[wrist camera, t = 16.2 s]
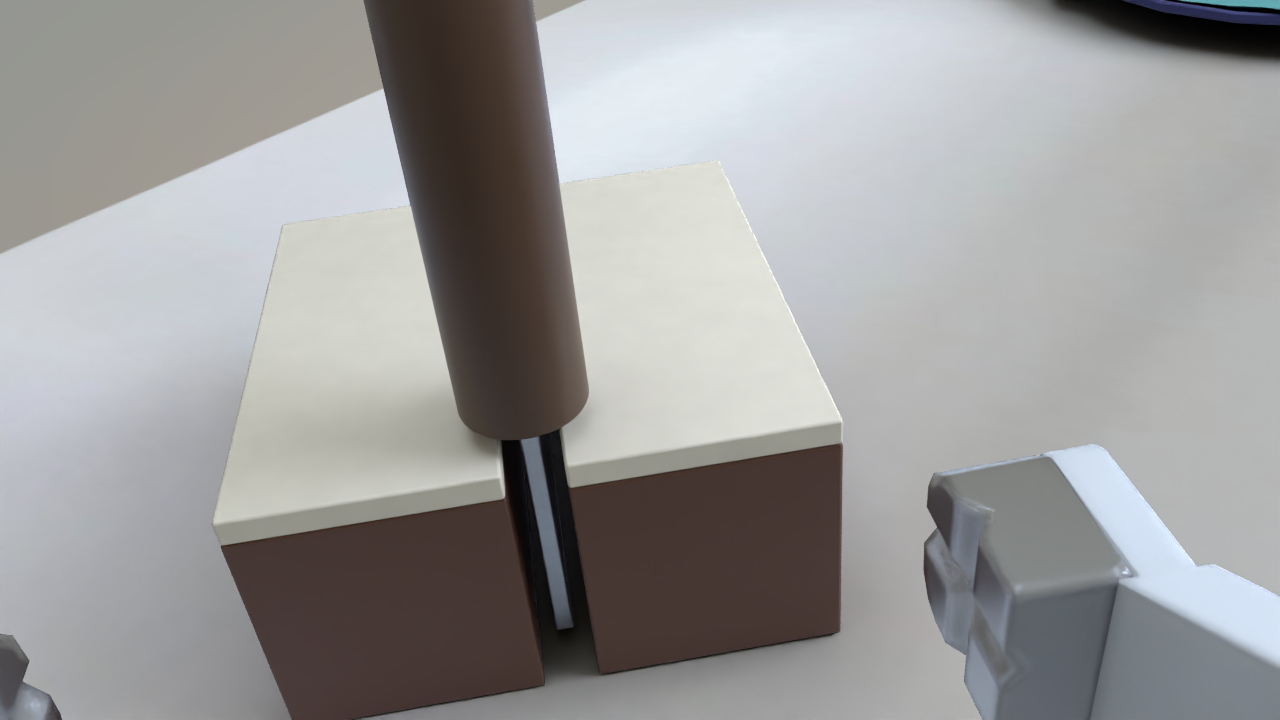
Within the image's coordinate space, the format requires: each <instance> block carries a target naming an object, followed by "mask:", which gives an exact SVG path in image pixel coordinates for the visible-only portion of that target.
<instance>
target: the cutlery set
mask: <svg viewBox="0 0 1280 720" xmlns="http://www.w3.org/2000/svg"><path fill="white" fill-rule="evenodd" d="M1123 1H1126V2H1130V3H1133V4H1137V5H1140V6H1144V7H1147V8H1151V9H1154V10H1157V11H1161V12H1166V13H1172V14H1179V15H1185V16H1192V17H1199V18H1205V19H1212V20H1218V21H1225V22H1231V23H1244V24H1263V25H1280V0H1123Z"/></svg>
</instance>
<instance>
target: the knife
mask: <svg viewBox="0 0 1280 720" xmlns="http://www.w3.org/2000/svg"><path fill="white" fill-rule="evenodd" d="M364 4H365V9H366V13H367V18H368V22H369V27H370V31H371V35H372V40H373V43H374V48H375V53H376V57H377V61H378V66H379V70H380V75H381V79H382V83H383V88H384V92H385V96H386V101H387V105H388V109H389V114H390V118H391V123H392V127H393V131H394V136H395V140H396V144H397V149H398V153H399V157H400V162H401V166H402V170H403V175H404V179H405V184H406V188H407V192H408V197H409V201H410V205H411V210H412V214H413V218H414V223H415V227H416V232H417V236H418V240H419V245H420V249H421V253H422V258H423V262H424V266H425V271H426V275H427V280H428V284H429V288H430V293H431V297H432V301H433V306H434V310H435V314H436V319H437V323H438V328H439V332H440V336H441V341H442V345H443V349H444V354H445V358H446V362H447V367H448V371H449V375H450V380H451V384H452V389H453V393H454V397H455V402H456V406H457V410H458V414H459V417H460V419H461V420H462V422H463V423H464V424H465V425H466V426H467V427H468V428H469V429H471V430H472V431H473V432H475V433H477V434H479V435H482V436H485V437H488V438H492V439H499V440H520V444H521V449H522V454H523V459H524V464H525V470H526V475H527V480H528V485H529V490H530V495H531V501H532V506H533V511H534V516H535V521H536V526H537V532H538V537H539V542H540V547H541V552H542V557H543V563H544V568H545V573H546V578H547V583H548V588H549V593H550V599H551V604H552V609H553V614H554V619H555V624H556V628H557V630H560V629H566V628H572V627H573V626H574V622H573V614H572V606H571V599H570V591H569V583H568V576H567V568H566V560H565V553H564V545H563V537H562V530H561V522H560V514H559V506H558V499H557V491H556V483H555V476H554V468H553V460H552V453H551V445H550V437H549V433H551V432H553V431H555V430H557V429H559V428H561V427H563V426H565V425H566V424H568V423H569V422H571V421H572V420H573V419H574V418H575V417H576V416H577V415H579V413H580V412H581V411H582V410H583V408H584V406H585V405H586V402H587V399H588V396H589V385H588V378H587V371H586V365H585V358H584V351H583V344H582V337H581V330H580V323H579V316H578V309H577V302H576V295H575V288H574V282H573V275H572V268H571V261H570V254H569V247H568V240H567V233H566V226H565V219H564V212H563V206H562V199H561V192H560V185H559V178H558V171H557V164H556V157H555V150H554V143H553V136H552V129H551V123H550V116H549V109H548V102H547V95H546V88H545V81H544V74H543V67H542V60H541V53H540V46H539V40H538V33H537V26H536V19H535V12H534V5H533V0H364Z"/></svg>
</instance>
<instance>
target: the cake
mask: <svg viewBox="0 0 1280 720" xmlns="http://www.w3.org/2000/svg"><path fill="white" fill-rule="evenodd" d="M559 185H560V192H561V199H562V206H563V212H564V219H565V226H566V233H567V240H568V247H569V254H570V261H571V268H572V275H573V282H574V288H575V295H576V302H577V309H578V316H579V323H580V330H581V337H582V344H583V351H584V358H585V365H586V371H587V378H588V385H589V396H588V399H587V402H586V405H585V406H584V408H583V410H582V411H581V412H580V413H579V415H577V416H576V417H575V418H574V419H573V420H572V421H571V422H569V423H568V424H566V425H565V426H563V427H561V428H559V430H560V437H561V444H562V451H563V458H564V465H565V471H566V477H567V483H568V489H569V495H570V501H571V507H572V513H573V519H574V525H575V531H576V537H577V543H578V549H579V555H580V561H581V567H582V573H583V579H584V585H585V591H586V596H587V602H588V608H589V614H590V620H591V626H592V632H593V638H594V644H595V650H596V656H597V662H598V668H599V671H600V673H601V674H605V673H611V672H616V671H622V670H628V669H633V668H639V667H645V666H650V665H656V664H662V663H667V662H673V661H679V660H684V659H690V658H696V657H701V656H707V655H713V654H718V653H724V652H730V651H735V650H741V649H747V648H752V647H758V646H764V645H769V644H775V643H781V642H786V641H792V640H798V639H803V638H809V637H815V636H820V635H826V634H832V633H837V632H839V631H840V610H841V534H842V458H843V445H842V441H843V420H842V418H841V416H840V413H839V411H838V409H837V407H836V405H835V403H834V401H833V399H832V397H831V395H830V393H829V390H828V388H827V386H826V384H825V382H824V380H823V378H822V376H821V374H820V372H819V370H818V367H817V365H816V363H815V361H814V359H813V357H812V355H811V353H810V351H809V349H808V347H807V344H806V342H805V340H804V338H803V336H802V334H801V332H800V330H799V328H798V326H797V323H796V321H795V319H794V317H793V315H792V313H791V311H790V309H789V307H788V305H787V303H786V300H785V298H784V296H783V294H782V292H781V290H780V288H779V286H778V284H777V282H776V280H775V277H774V275H773V273H772V271H771V269H770V267H769V265H768V263H767V261H766V259H765V257H764V254H763V252H762V250H761V248H760V246H759V244H758V242H757V240H756V238H755V236H754V234H753V231H752V229H751V227H750V225H749V223H748V221H747V219H746V217H745V215H744V213H743V211H742V208H741V206H740V204H739V202H738V200H737V198H736V196H735V194H734V192H733V190H732V188H731V185H730V183H729V181H728V179H727V177H726V175H725V173H724V171H723V169H722V167H721V164H720V162H719V161H717V160H716V161H709V162H702V163H696V164H689V165H682V166H675V167H668V168H662V169H655V170H648V171H641V172H635V173H628V174H621V175H614V176H607V177H601V178H594V179H587V180H580V181H574V182H567V183H560V184H559ZM212 526H213V529H214V531H215V534H216V536H217V538H218V541H219V543H220V545H221V549H222V552H223V554H224V557H225V559H226V562H227V564H228V566H229V569H230V571H231V574H232V576H233V578H234V581H235V583H236V586H237V588H238V591H239V593H240V595H241V598H242V600H243V603H244V605H245V607H246V610H247V612H248V615H249V617H250V620H251V622H252V624H253V627H254V629H255V632H256V634H257V636H258V639H259V641H260V644H261V646H262V649H263V651H264V653H265V656H266V658H267V661H268V663H269V665H270V668H271V670H272V673H273V675H274V678H275V680H276V682H277V685H278V687H279V690H280V692H281V694H282V697H283V699H284V702H285V704H286V707H287V709H288V711H289V714H290V716H291V719H292V720H348V719H354V718H359V717H365V716H371V715H376V714H382V713H388V712H393V711H399V710H405V709H410V708H416V707H422V706H427V705H433V704H439V703H444V702H450V701H456V700H461V699H467V698H473V697H478V696H484V695H490V694H495V693H501V692H507V691H512V690H518V689H524V688H529V687H535V686H541V685H544V683H545V680H544V670H543V660H542V649H541V639H540V629H539V619H538V608H537V598H536V588H535V577H534V567H533V557H532V546H531V536H530V526H529V515H528V505H527V495H526V484H525V474H524V464H523V454H522V449H521V444H520V440H499V439H492V438H488V437H485V436H482V435H479V434H477V433H475V432H473V431H472V430H471V429H469V428H468V427H467V426H466V425H465V424H464V423H463V422H462V420H461V419H460V417H459V414H458V410H457V406H456V402H455V397H454V393H453V389H452V384H451V380H450V375H449V371H448V367H447V362H446V358H445V354H444V349H443V345H442V341H441V336H440V332H439V328H438V323H437V319H436V314H435V310H434V306H433V301H432V297H431V293H430V288H429V284H428V280H427V275H426V271H425V266H424V262H423V258H422V253H421V249H420V245H419V240H418V236H417V232H416V227H415V223H414V218H413V214H412V210H411V206H404V207H397V208H390V209H384V210H377V211H370V212H363V213H357V214H350V215H343V216H336V217H329V218H323V219H316V220H309V221H302V222H296V223H289V224H284V225H282V229H281V233H280V237H279V241H278V246H277V250H276V254H275V258H274V263H273V267H272V271H271V275H270V279H269V284H268V288H267V292H266V296H265V301H264V305H263V309H262V313H261V318H260V322H259V326H258V330H257V334H256V339H255V343H254V347H253V351H252V356H251V360H250V364H249V368H248V372H247V377H246V381H245V385H244V389H243V394H242V398H241V402H240V406H239V410H238V415H237V419H236V423H235V427H234V432H233V436H232V440H231V444H230V449H229V453H228V457H227V461H226V465H225V470H224V474H223V478H222V482H221V487H220V491H219V495H218V499H217V503H216V508H215V512H214V516H213V520H212Z"/></svg>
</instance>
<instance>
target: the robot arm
mask: <svg viewBox="0 0 1280 720" xmlns="http://www.w3.org/2000/svg"><path fill="white" fill-rule="evenodd" d="M927 508H928V510H929V512H930V514H931V516H932V518H933V520H934V521H935V523H936V525H937V528H936V530H935V531H934V532H933V533H932V534H931V535H930V537H929V538H928V539H927V540H926V541H925V543H924V576H925V582H926V588H927V595H928V600H929V603H930V606H931V609H932V612H933V615H934V618H935V621H936V623H937V625H938V627H939V630H940V632H941V634H942V636H943V638H944V640H945V642H946V643H947V644H949V645H950V646H952V647H954V648H955V649H957V650H958V651H960V652H962V653H963V654H965V655H966V665H965V675H964V682H965V685H966V687H967V689H968V691H969V693H970V695H971V697H972V699H973V701H974V703H975V705H976V707H977V709H978V711H979V713H980V715H981V717H982V719H983V720H1280V596H1279V595H1276V594H1274V593H1272V592H1270V591H1268V590H1266V589H1264V588H1262V587H1260V586H1258V585H1256V584H1254V583H1252V582H1250V581H1248V580H1246V579H1243V578H1241V577H1239V576H1237V575H1235V574H1233V573H1231V572H1229V571H1227V570H1225V569H1223V568H1221V567H1219V566H1217V565H1215V564H1208V565H1202V566H1196V565H1195V563H1194V562H1193V561H1192V560H1191V558H1190V557H1189V556H1188V555H1187V553H1186V552H1185V551H1184V549H1183V548H1182V547H1181V546H1180V544H1179V543H1178V542H1177V540H1176V539H1175V538H1174V537H1173V535H1172V534H1171V533H1170V531H1169V530H1168V529H1167V528H1166V526H1165V525H1164V524H1163V522H1162V521H1161V520H1160V519H1159V517H1158V516H1157V515H1156V514H1155V512H1154V511H1153V510H1152V508H1151V507H1150V506H1149V505H1148V503H1147V502H1146V501H1145V499H1144V498H1143V497H1142V496H1141V494H1140V493H1139V492H1138V490H1137V489H1136V488H1135V487H1134V485H1133V484H1132V483H1131V482H1130V480H1129V479H1128V478H1127V476H1126V475H1125V474H1124V473H1123V471H1122V470H1121V469H1120V467H1119V466H1118V465H1117V464H1116V462H1115V461H1114V460H1113V458H1112V457H1111V456H1110V455H1109V453H1108V452H1107V451H1106V450H1105V449H1104V448H1102V447H1100V446H1098V445H1096V444H1091V445H1085V446H1080V447H1074V448H1069V449H1064V450H1058V451H1053V452H1047V453H1042V454H1041V455H1039V456H1036V455H1034V456H1028V457H1023V458H1017V459H1011V460H1006V461H1000V462H995V463H989V464H983V465H978V466H972V467H967V468H961V469H955V470H950V471H944V472H939V473H934V474H933V476H932V479H931V481H930V484H929V487H928V499H927ZM28 664H29V659H28V658H27V656H26V655H25V653H24V652H23V650H22V649H21V647H20V646H19V644H18V643H17V641H16V640H15V638H14V637H13V635H6V634H0V720H62V718H61V714H60V712H59V711H58V709H57V707H56V705H55V703H54V702H53V700H52V698H51V696H50V695H49V694H47V693H45V692H43V691H41V690H39V689H37V688H35V687H32V686H30V685H28V684H26V683H24V682H22V680H23V677H24V675H25V672H26V669H27V666H28Z"/></svg>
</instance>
